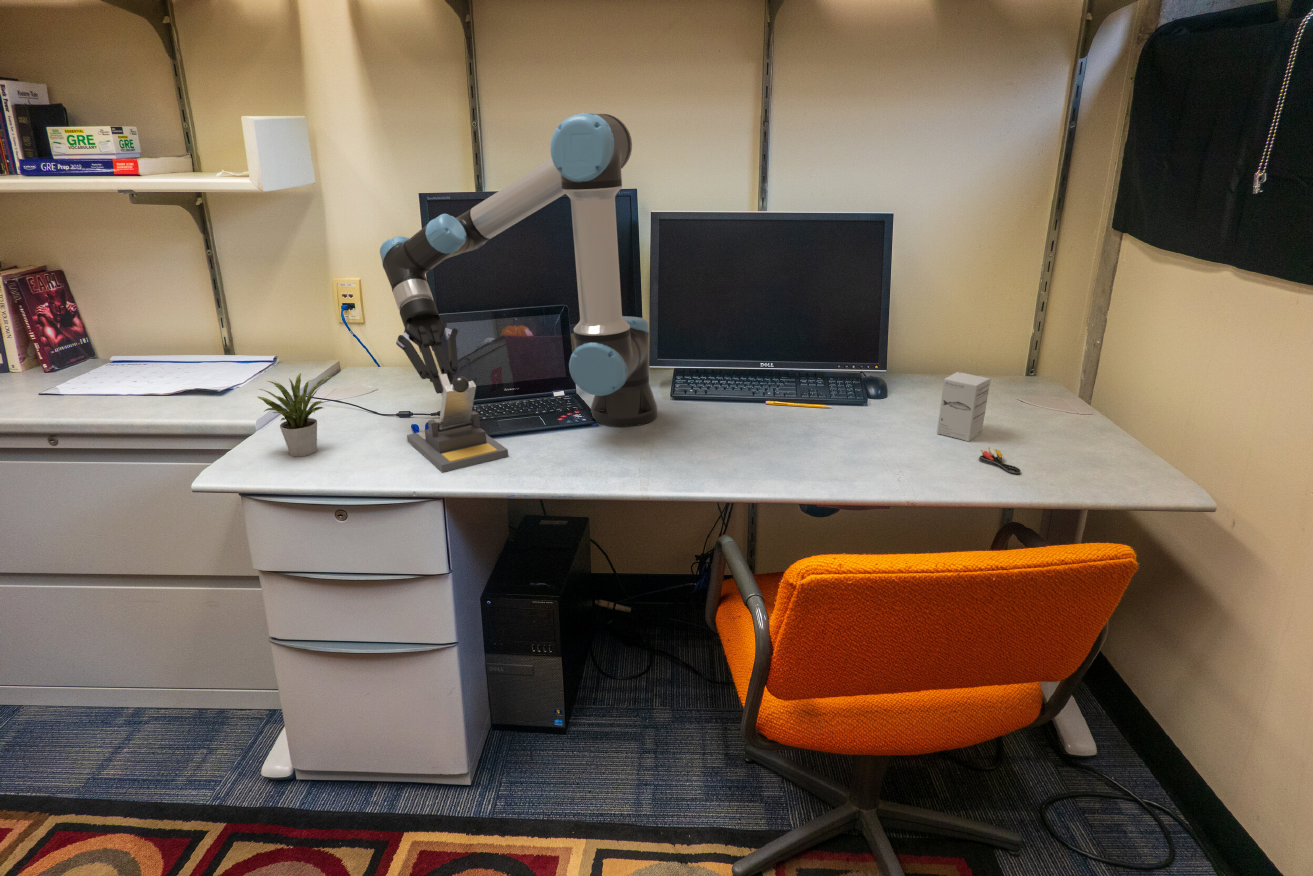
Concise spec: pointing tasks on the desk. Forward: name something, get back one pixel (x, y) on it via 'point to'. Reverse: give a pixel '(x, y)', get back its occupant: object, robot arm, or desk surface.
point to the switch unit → (457, 445)
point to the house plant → (297, 417)
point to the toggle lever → (457, 404)
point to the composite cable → (997, 461)
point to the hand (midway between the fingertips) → (451, 405)
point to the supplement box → (963, 406)
